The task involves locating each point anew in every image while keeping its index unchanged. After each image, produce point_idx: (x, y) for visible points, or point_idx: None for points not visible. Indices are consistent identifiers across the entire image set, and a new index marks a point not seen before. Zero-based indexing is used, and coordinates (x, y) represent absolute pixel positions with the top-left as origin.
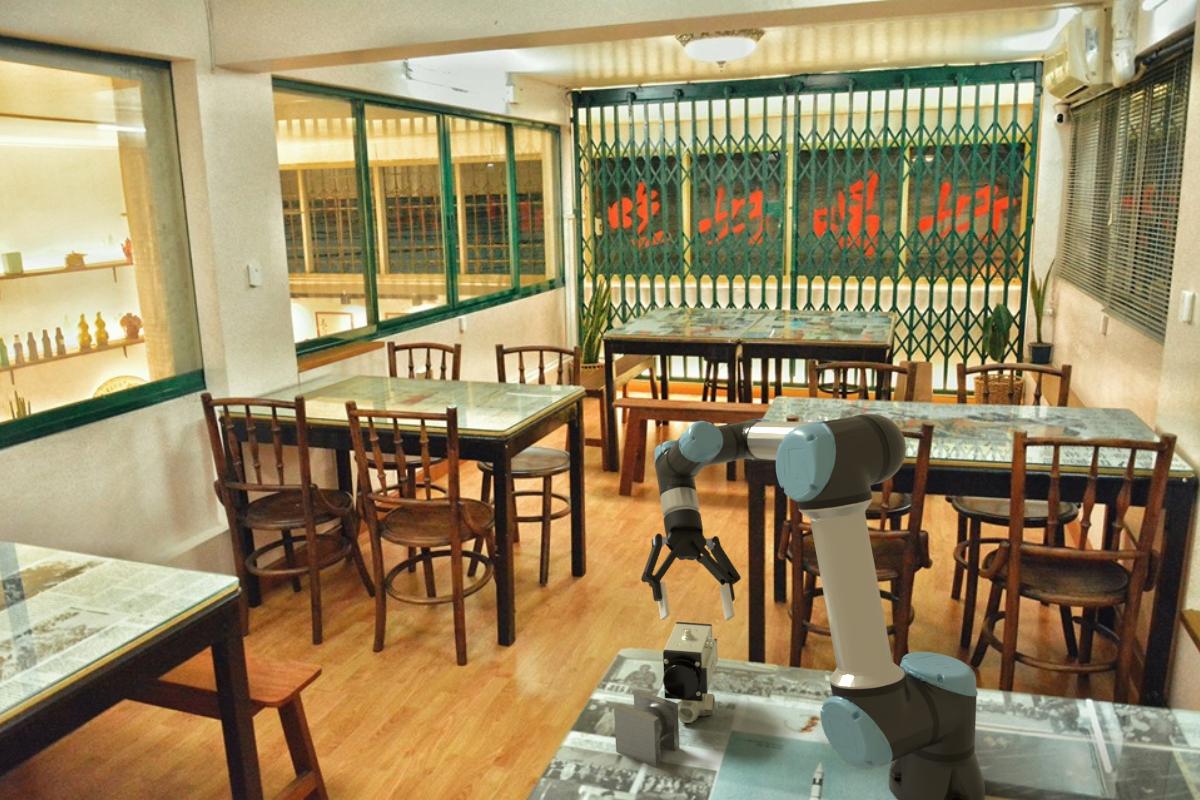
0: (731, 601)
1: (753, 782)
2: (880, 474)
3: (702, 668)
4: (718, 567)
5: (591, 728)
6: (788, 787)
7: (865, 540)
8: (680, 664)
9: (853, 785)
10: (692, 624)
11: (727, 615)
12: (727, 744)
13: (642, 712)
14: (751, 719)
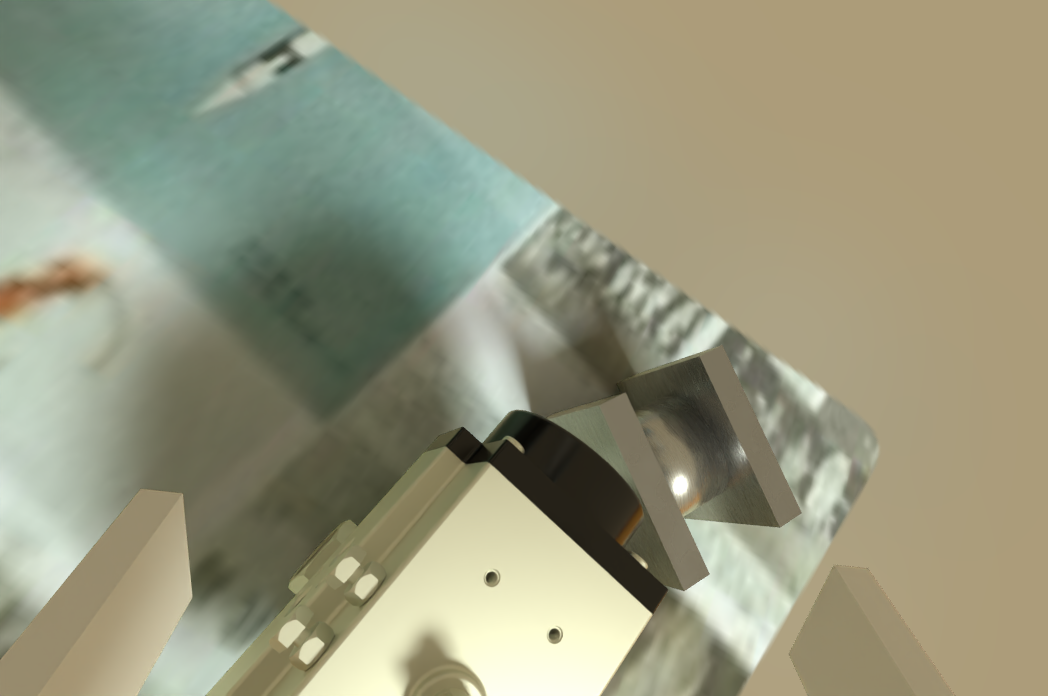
0: (46, 618)
1: (444, 164)
2: None
3: (470, 452)
4: None
5: (715, 673)
6: (375, 90)
7: None
8: (601, 474)
9: None
10: None
11: (175, 570)
12: (392, 357)
13: (732, 421)
14: (207, 447)
